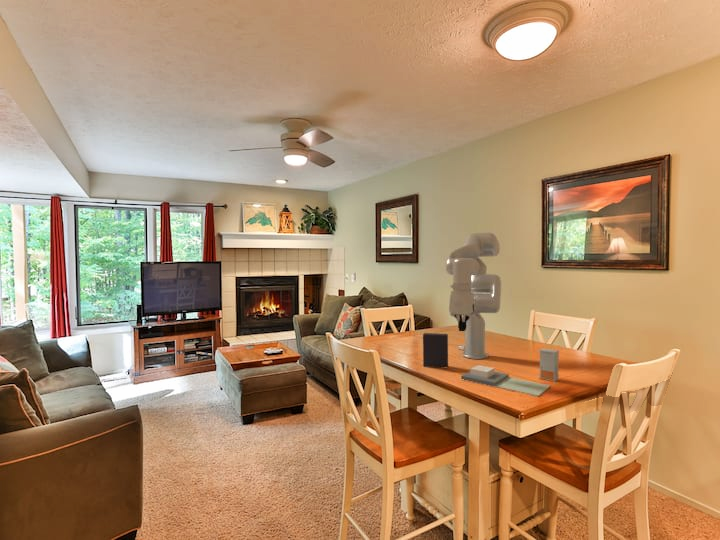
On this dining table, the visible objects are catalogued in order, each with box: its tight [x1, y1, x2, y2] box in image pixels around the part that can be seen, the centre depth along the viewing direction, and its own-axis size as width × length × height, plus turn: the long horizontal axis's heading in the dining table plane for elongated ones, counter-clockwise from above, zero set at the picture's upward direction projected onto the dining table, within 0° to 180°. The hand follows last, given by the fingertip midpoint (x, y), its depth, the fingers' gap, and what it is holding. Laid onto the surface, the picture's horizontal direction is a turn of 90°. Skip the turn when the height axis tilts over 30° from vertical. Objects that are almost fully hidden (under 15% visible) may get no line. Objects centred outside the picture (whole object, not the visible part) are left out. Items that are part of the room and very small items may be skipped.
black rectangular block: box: [422, 332, 449, 368], centre depth 177 cm, size 11×4×15 cm, turn 74°
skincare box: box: [539, 347, 560, 382], centre depth 156 cm, size 6×4×12 cm
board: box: [460, 370, 510, 387], centre depth 158 cm, size 14×14×2 cm
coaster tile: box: [470, 364, 495, 378], centre depth 159 cm, size 7×7×2 cm
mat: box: [494, 376, 551, 397], centre depth 148 cm, size 16×14×1 cm
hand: (462, 330), depth 164 cm, fingers closed
